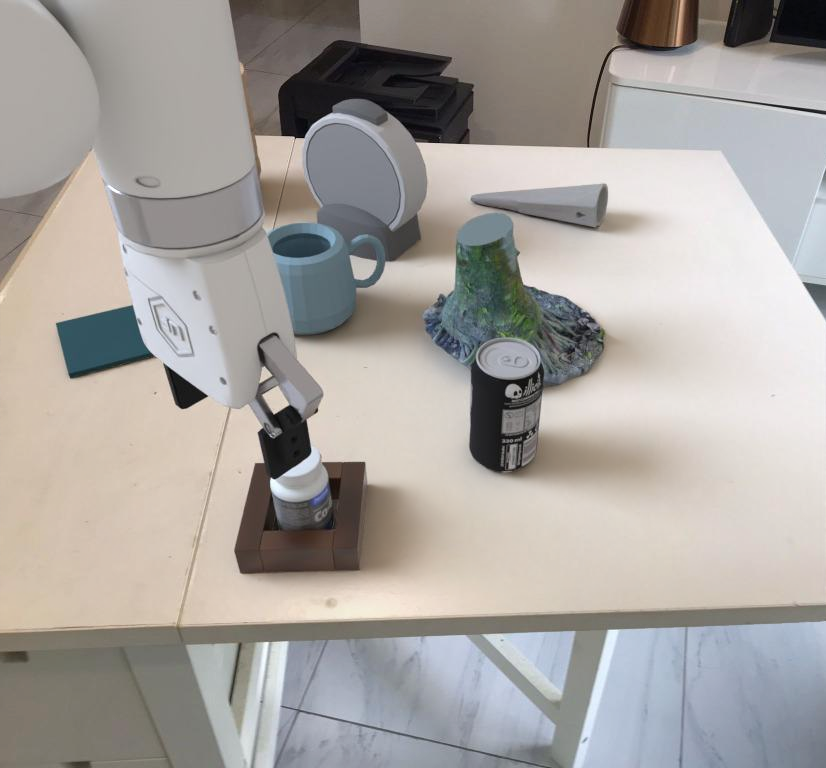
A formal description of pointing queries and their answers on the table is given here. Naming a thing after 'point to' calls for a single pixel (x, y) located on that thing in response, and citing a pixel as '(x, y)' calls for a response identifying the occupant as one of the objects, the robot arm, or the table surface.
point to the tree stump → (509, 306)
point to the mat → (101, 341)
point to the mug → (319, 274)
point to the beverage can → (505, 404)
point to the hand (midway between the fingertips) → (242, 430)
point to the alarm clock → (366, 176)
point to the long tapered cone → (554, 202)
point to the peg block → (303, 547)
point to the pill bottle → (304, 496)
